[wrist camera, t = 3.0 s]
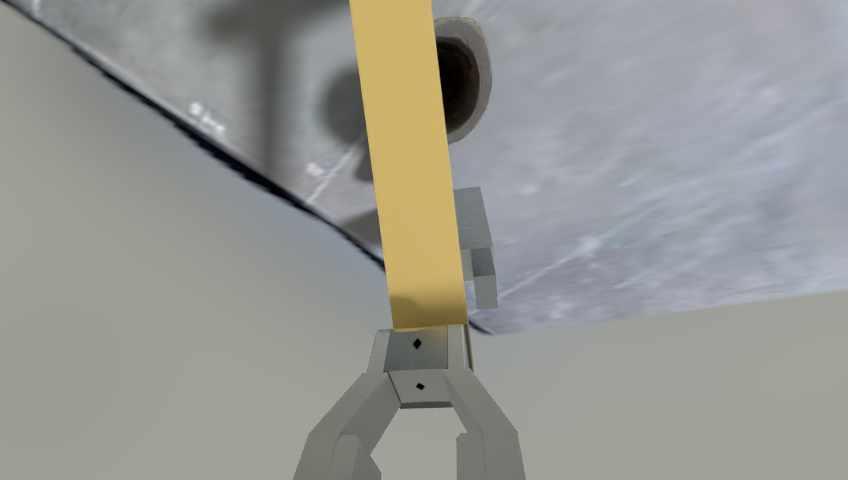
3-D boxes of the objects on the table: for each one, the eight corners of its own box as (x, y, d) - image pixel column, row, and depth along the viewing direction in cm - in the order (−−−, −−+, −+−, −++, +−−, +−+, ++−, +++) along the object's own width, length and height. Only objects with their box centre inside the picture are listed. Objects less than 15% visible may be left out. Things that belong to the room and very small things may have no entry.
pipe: (370, 156, 29) (348, 194, 22) (427, 0, 22) (418, -13, 15) (428, 182, 30) (424, 225, 23) (499, 42, 23) (521, 46, 16)
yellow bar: (337, -117, 12) (315, -174, 10) (419, -142, 12) (411, -207, 10) (404, 383, 14) (395, 409, 12) (480, 380, 13) (482, 406, 11)
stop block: (410, 196, 31) (391, 284, 20) (480, 186, 30) (499, 274, 19) (416, 221, 32) (401, 315, 22) (482, 213, 31) (500, 307, 21)
